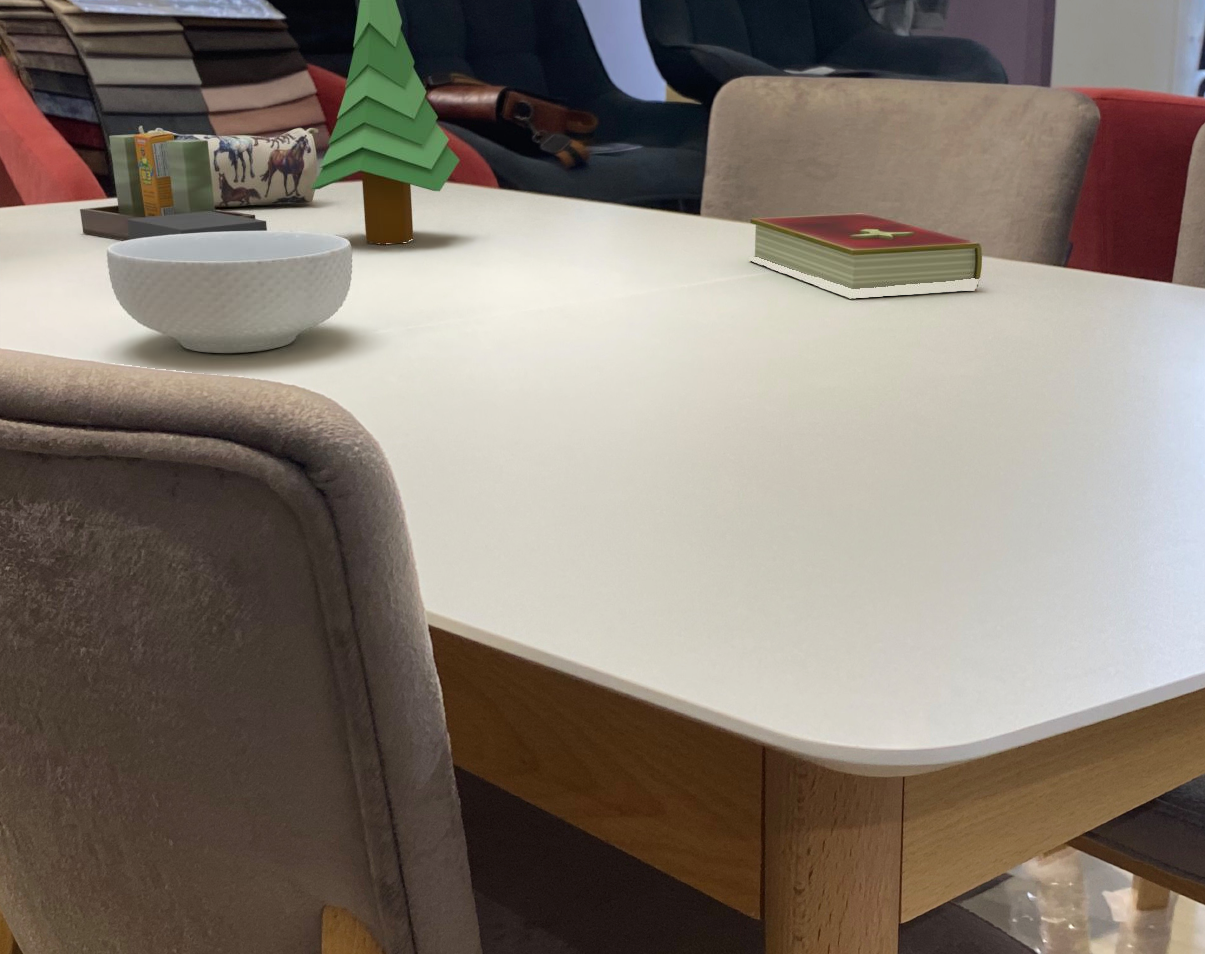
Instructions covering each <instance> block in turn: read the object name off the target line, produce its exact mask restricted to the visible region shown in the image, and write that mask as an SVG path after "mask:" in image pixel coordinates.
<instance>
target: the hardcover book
mask: <svg viewBox="0 0 1205 954" xmlns="http://www.w3.org/2000/svg"><path fill="white" fill-rule="evenodd" d="M749 221H750V222H749V223H750V224H752V225H755V235H754V237H755V241H754V257H759V258H761V259H764V260H767V261H770V262H772V263H775V264H778V265H781V266H784V267H787V268H789V269H792V270H796V271H799V272H801V273H804V274H807V275H811V276H814V277H819V278H822V279H824V280H827V281H830V282H833V283H836V284H840V285H843V286H845V287H848V288H851V289H860V288H874V287H875V288H876V287H886V286H887V287H888V286H895V285H906V284H918V283H919V284H920V283H933V282H946V281H955V280H963V279H971V278H975V279H979V278H980V279H981V276H982V275H981V274H982V269H983V267H982V266H983V264H982V263H983V251H982V247H981V243H979V242H975V241H971V240H968V239H965V238H960V237H956V236H953V235H950V234H949V235H948V234H945V233H941V232H938V231H934V230H929V229H925V228H922V227H918V226H914V225H910V224H907V223H902V222H898V221H894V220H891V219H887V218H883V217H879V216H875V215H871V214H868V213H863V212H859V213H857V212H856V213H839V214H836V213H835V214H818V215H817V214H816V215H796V216H794V215H793V216H775V217H756V218H753V217H752V218H750V220H749Z"/></svg>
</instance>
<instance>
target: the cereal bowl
mask: <svg viewBox="0 0 1205 954" xmlns="http://www.w3.org/2000/svg"><path fill="white" fill-rule="evenodd" d="M352 250H353V248H352V245H351V242H350V241H349V239H347V238H345V237H342V236H339V235H334V234H328V233H321V232H309V231H297V230H296V231H294V230H293V231H292V230H267V231H229V232H204V233H189V234H176V235H163V236H154V237H146V238H138V239H132V240H126V241H124V240H121V241H118V242H115V243H112V244H110V245H109V246H108V247H107V249H106V262H107V269H108V276H109V280H110V284H111V288H112V290H113V293H114V296H115V298H116V300H117V301H118V303H119V305H120V307H122V309H123V310H124V311H125V312H126V313H127V315H129V316H130V317H131V318H132V319H133V320H135V321H136V322H137V323H138V324H139V325H142V326H143V327H146V328H147V329H150V330H152V331H155V332H157V333H159V334H162V335H165V336H168V337H170V338H173V339H175V340H177V341H178V342H179V345H181V347H183V348H184V349H187V350H189V351H194V352H199V353H208V354H209V353H210V354H211V353H212V354H242V353H243V354H244V353H252V352H253V353H254V352H261V351H268V350H274V349H279V348H281V347H285V346H287V345H290V344H292V343H293V342H294V341H295V340H296V338H297V336H298V335H299V334H300V333H302V332H305V331H307V330H309V329H312V328H313V327H316V326H318V325H320V324H322V323H324V322H325V321H328V320H329V319H331V317H333V316H334V315H335V314H336V313H337V312H339V309H340V308H341V307H342V306H343V304H344V302H346V300H347V299H346V298H347V297H348V293H349V291H350V287H351V281H352V274H353V251H352Z"/></svg>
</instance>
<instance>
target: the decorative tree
mask: <svg viewBox="0 0 1205 954" xmlns="http://www.w3.org/2000/svg"><path fill="white" fill-rule="evenodd" d="M358 4H359V5H358V10H357V18H356V25H355V33H354V39H353V46H352V48H354V49H353V53H352V58H351V63H350V67H349V70H348V75H347V78H346V83H345V88H344V89H345V92H344V94H343V98H342V101H341V104H340V107H339V110H338V113H337V116H336V119H337V120H336V124H335V126H334V128H333V130H332V133H331V136H330V138H329V140H328V143H327V144H328V145H329V146H328V149H327V151H326V153H325V155H324V156H323V159H322V160H321V163H320V165H319V167H318V168H319V169H321V170H320V172H319V174H317V179H316V180H315V182H314V184H313V186H312V187H311V189H315V190H322V189H323V188H325V187H327V186H330V185H332V184H334V183H336V182H338V181H340V180H342V179H345V178H347V177H350V176H352V175H354V174H356V173H358V172H361V185H362V198H363V210H364V211H363V212H364V228H365V243H366V242H372V243H371V244H374V243H380V244H379V245H381V244H386V243H403V242H408V241H409V240H411V239H413V240H414V224H413V207H412V206H413V205H412V189H411V188H412V187H411V186H415V187H418V188H422V189H426V190H429V191H432V192H441V191H442V189H443V188H444V185H446V183H447V181H448V179H449V178H450V177H451V175H452V173H453V171H454V170H455V169H456V167H457V165H458V164H459V162H460V161H461V159H460V158H459V157H458V156H457V155H456V154H455V153H454V151H453V150H451V148H450V147H449V146H448V145H447V144H448V142H449V140H450V138H448V136H447V135H446V134H445V132H444V131H443V130H442V129H441V127H440V125H438V123H437V119H438V118H439V116H438V114H437V113H436V112H435V110H434V109H433V107H432V106H431V104H430V102H429V101H428V99H427V98H426V94H427V90H426V89H425V87H424V85H423V83H422V81H421V79H420V77H419V76H418V74H417V71H416V70H415V67H414V65H415V59H414V58H413V55H412V53H411V50H410V48H409V46H408V44H407V41H406V39H405V37H404V34H403V32H402V28H401V27H402V24H403V21H402V17H401V14H400V10H399V8H398V4H397V1H396V0H359V3H358ZM311 189H310V190H311ZM408 243H409V242H408ZM386 245H387V244H386Z"/></svg>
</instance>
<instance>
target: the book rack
mask: <svg viewBox="0 0 1205 954" xmlns="http://www.w3.org/2000/svg"><path fill="white" fill-rule="evenodd" d="M134 135H138V133H137V134H135V133H132V134H119V135H118V134H117V135H116V134H115V135H109V137H108V138H109V144H110V145H109V147H110V152H111V153H110V154H111V160H112V168H113V177H114V184H115V193H116V200H117V205H116V204H115V205H107V206H106V205H105V206H97V207H88V208H80V209H79V213H80V220H81V229H82V233H83V234H84V235H90V236H94V237H95V236H97V237H102V238H107V239H112V240H113V239H114V240H119V241H126V240H130V239H129V232H128V224H127V219H133V218H143V217H146V216H145V209H144V202H143V195H142V188H141V181H140V174H139V167H138V159H137V152H136V145H135V138H134ZM166 143H167V152H168V161H169V170H170V178H171V187H172V196H173V205H174V213H175V214H183V213H194V212H204V211H212V212H217V213H223V214H229V215H235V216H240V217H246V218H252V219H256V214H251V213H243V212H235V211H230V210H229V211H228V210H221V209H216V207H215V206H214V197H213V187H212V178H211V168H210V158H209V149H208V141H207V140H196V139H185V140H172V141H166Z"/></svg>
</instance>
